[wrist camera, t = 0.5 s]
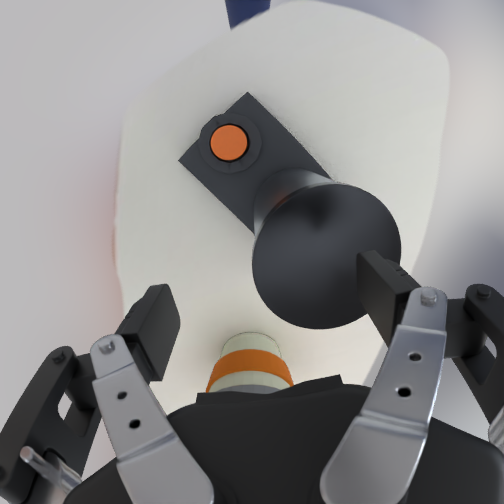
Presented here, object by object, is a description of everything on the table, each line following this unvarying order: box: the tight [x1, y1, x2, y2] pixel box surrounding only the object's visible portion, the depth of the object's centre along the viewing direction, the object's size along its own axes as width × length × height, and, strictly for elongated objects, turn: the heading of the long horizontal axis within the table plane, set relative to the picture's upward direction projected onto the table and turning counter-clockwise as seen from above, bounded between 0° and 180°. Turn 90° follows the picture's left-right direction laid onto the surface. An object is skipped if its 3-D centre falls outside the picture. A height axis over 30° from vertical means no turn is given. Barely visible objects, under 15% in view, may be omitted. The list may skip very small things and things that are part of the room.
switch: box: [211, 125, 247, 160], centre depth 27 cm, size 4×4×2 cm
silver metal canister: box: [252, 168, 401, 329], centre depth 23 cm, size 9×9×15 cm
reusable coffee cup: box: [206, 332, 294, 394], centre depth 35 cm, size 13×13×15 cm
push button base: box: [178, 92, 332, 234], centre depth 31 cm, size 17×11×4 cm, turn 44°
